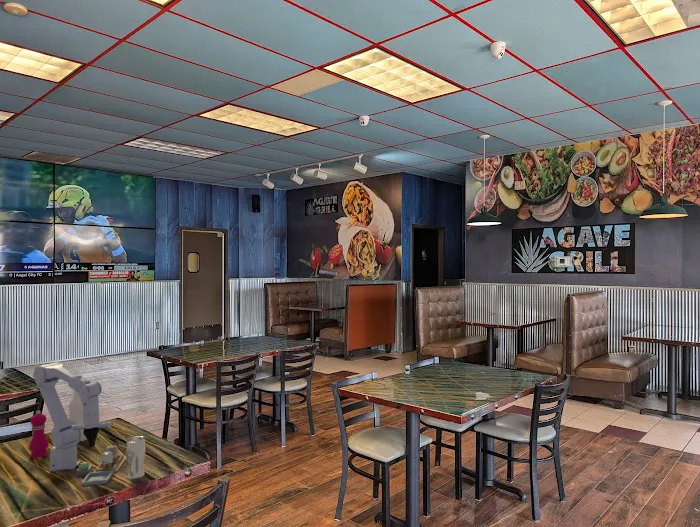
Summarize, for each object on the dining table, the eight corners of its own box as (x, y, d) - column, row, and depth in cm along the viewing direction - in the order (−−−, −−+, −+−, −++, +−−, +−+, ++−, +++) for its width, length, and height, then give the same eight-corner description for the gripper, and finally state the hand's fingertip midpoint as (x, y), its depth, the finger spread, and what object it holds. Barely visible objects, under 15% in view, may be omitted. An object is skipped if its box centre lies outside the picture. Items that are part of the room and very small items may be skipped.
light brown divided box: (92, 475, 200) (92, 457, 200) (103, 461, 214) (103, 445, 214) (117, 473, 201) (116, 455, 201) (126, 459, 215) (125, 443, 215)
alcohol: (73, 437, 245) (71, 375, 245) (92, 435, 247) (91, 374, 247) (67, 443, 236) (65, 379, 236) (87, 441, 238) (86, 378, 238)
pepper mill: (25, 457, 220) (24, 412, 220) (41, 451, 227) (40, 407, 226) (37, 459, 217) (36, 413, 217) (52, 453, 224) (51, 409, 224)
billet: (100, 470, 202) (100, 455, 202) (104, 466, 206) (103, 451, 206) (111, 469, 202) (110, 454, 202) (114, 465, 206) (113, 451, 206)
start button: (79, 475, 199) (79, 465, 199) (82, 472, 202) (81, 462, 202) (87, 474, 200) (87, 464, 200) (89, 472, 202) (89, 461, 202)
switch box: (76, 477, 198) (76, 470, 198) (80, 473, 203) (80, 465, 203) (89, 476, 199) (88, 469, 199) (92, 472, 203) (92, 464, 203)
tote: (81, 487, 190) (81, 482, 190) (89, 477, 199) (89, 472, 199) (106, 484, 191) (106, 480, 191) (113, 474, 200) (113, 470, 200)
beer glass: (134, 482, 193) (133, 443, 193) (123, 478, 197) (122, 440, 197) (149, 475, 199) (148, 437, 199) (138, 471, 203) (137, 434, 203)
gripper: (67, 417, 198) (69, 451, 198) (107, 414, 201) (108, 448, 201) (74, 412, 205) (75, 445, 205) (112, 409, 208) (113, 442, 208)
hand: (92, 446), depth 203 cm, fingers closed
